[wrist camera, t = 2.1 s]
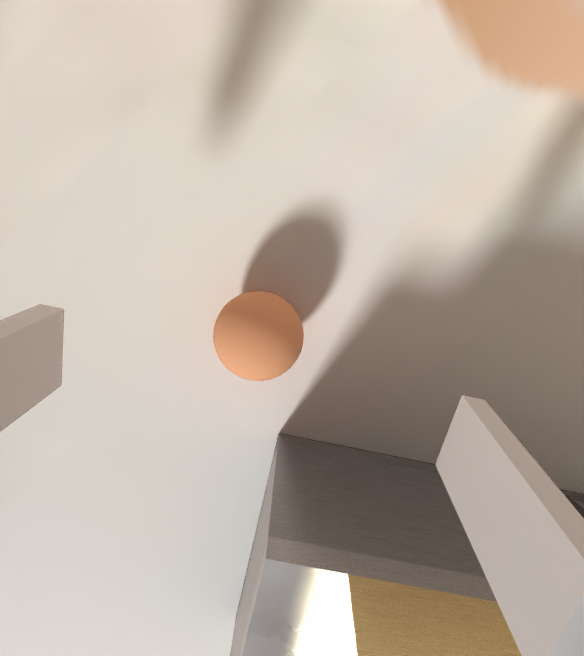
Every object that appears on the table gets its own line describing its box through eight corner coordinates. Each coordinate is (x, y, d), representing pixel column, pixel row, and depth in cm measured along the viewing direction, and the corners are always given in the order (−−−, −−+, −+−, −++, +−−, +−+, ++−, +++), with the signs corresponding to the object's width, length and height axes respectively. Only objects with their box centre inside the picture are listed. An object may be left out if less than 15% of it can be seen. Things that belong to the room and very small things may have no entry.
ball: (217, 351, 21) (197, 386, 17) (229, 274, 20) (212, 294, 16) (294, 366, 21) (292, 405, 17) (311, 292, 20) (313, 316, 16)
